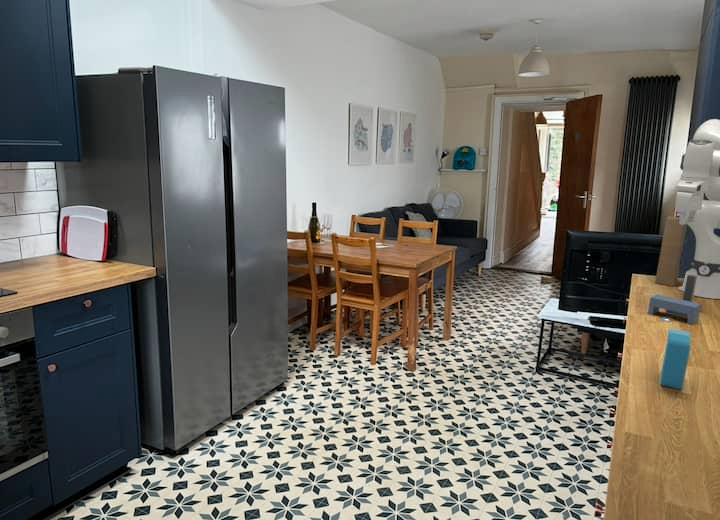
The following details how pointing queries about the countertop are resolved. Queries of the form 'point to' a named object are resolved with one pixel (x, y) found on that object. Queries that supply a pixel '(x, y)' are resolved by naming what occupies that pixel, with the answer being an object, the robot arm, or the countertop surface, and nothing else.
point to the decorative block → (670, 252)
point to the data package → (676, 359)
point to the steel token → (666, 319)
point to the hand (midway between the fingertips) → (686, 223)
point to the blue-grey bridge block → (675, 307)
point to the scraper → (687, 293)
